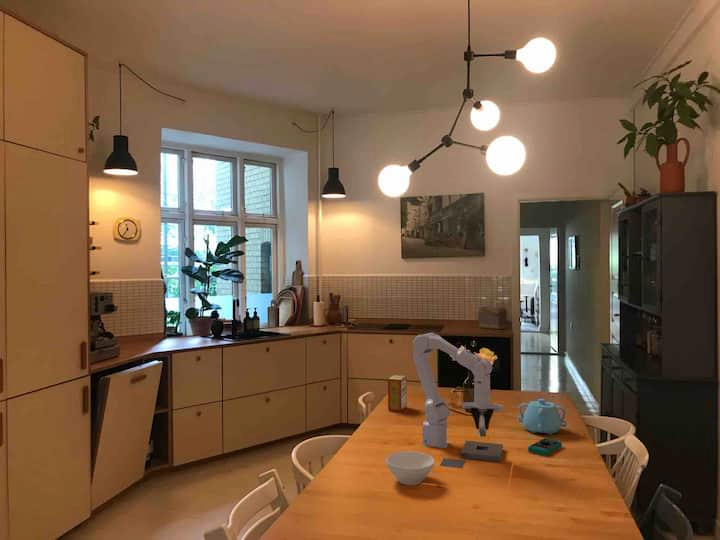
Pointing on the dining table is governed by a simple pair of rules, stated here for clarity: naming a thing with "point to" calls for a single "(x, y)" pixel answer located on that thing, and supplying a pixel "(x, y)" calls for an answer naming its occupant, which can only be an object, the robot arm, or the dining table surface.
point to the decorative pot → (542, 417)
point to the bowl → (410, 466)
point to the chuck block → (482, 451)
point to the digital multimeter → (545, 446)
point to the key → (482, 423)
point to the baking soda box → (396, 393)
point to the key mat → (452, 463)
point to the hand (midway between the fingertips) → (482, 428)
